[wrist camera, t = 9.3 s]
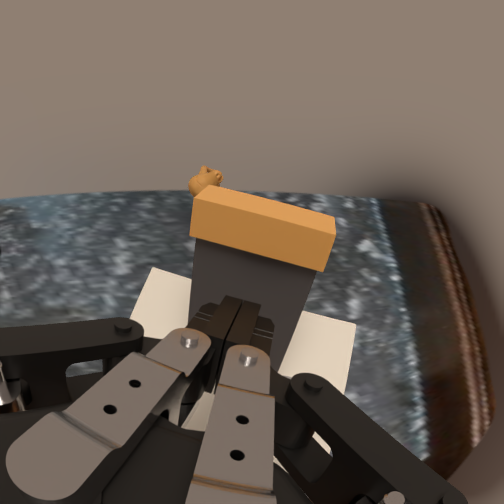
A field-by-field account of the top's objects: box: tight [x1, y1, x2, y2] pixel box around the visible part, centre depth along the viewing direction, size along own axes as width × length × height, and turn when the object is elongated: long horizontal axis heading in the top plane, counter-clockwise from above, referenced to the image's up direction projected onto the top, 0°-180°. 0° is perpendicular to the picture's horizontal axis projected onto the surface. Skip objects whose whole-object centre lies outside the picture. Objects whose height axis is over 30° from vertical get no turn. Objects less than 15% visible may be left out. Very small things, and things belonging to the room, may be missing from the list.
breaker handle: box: [188, 185, 336, 373], centre depth 16 cm, size 2×6×12 cm, turn 75°
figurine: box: [188, 166, 223, 197], centre depth 29 cm, size 8×6×12 cm
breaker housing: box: [130, 267, 356, 473], centre depth 23 cm, size 12×16×9 cm
